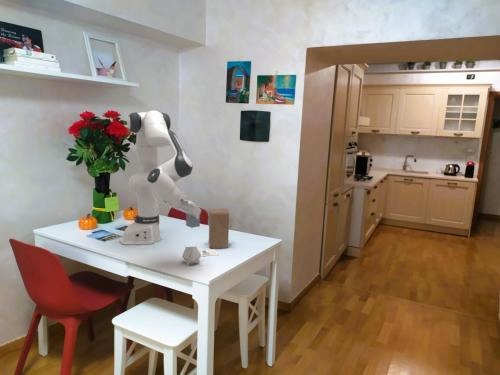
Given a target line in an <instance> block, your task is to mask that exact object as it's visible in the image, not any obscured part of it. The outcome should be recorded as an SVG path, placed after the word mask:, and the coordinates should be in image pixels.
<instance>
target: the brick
mask: <svg viewBox="0 0 500 375" xmlns="http://www.w3.org/2000/svg"><path fill="white" fill-rule="evenodd" d="M200 222H201V214H200V215H199V218H198V219H196V218H195V217H193V215H190V214H187V213H185V225H186V226H187V227H189V228H191V229H192V228H199V227H200V226H201V223H200Z"/></svg>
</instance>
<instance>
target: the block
mask: <svg viewBox="0 0 500 375" xmlns="http://www.w3.org/2000/svg"><path fill="white" fill-rule="evenodd" d="M208 214H209V215H208V216H209V218H208V219H209V222H208V227H209V228H208V244H209V248H210V249H227V248H229V230H230V228H229V227H230V213H229V211H228V209H227V208H210V209H209V212H208Z"/></svg>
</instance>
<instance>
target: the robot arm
mask: <svg viewBox="0 0 500 375" xmlns="http://www.w3.org/2000/svg"><path fill="white" fill-rule="evenodd" d="M126 125H127V128H128V131H130V133H134V134H136V139H135V143H136V144H135V145H136V146H135V147H136V160H137V162H138V163H139V164H140V166H141V168H142V171H140V172H136V173H134V174H132V175H130V177H129V179H128V183H127V184H128V188H129V190H130V191H132V192H133V193H134V196H135V198H136V201H137V215H136V214H133V215H132V218H133V219H134V220H133V222H132V223H131V224H130V225H129V226H127V227H126V228H125V230H124V232H123V235H122V236H120V238H119V242H120V244H122V245H124V246H127V245H128V246H129V245H132V246H133V245H136V246H137V245H152V244H154V243H157V242H160V241H161V240H162V235H161V232H160V214H159V201H158V199H157V198H155V195H154V192H155V193H156V194H157V195H158V196H160V197H162V201H163V202H164V203H166V204H168V206H169V207H171V208H172V209H175V210H177V211H179V212H183V213H185V214H186V213H187V214H190V215H193V217H195V218H196V219H198V218H199V215H200V216H201V213H202V209H201V208H200V207H199V206H197V204H196V203H195V202H193V201H191V200H189V199H187V194H186V192H185V191H184V190H183V189H182V188H181V187H180V186H179V185H177V184H176V182H178V181H179V180H181V179H183V178H186V177H187V176H190V175H191V174H192V171H193V168H194V166H193V163H192V160H191V159H190V158H189V157H188V155H187V153H186V151H185V148H184V147H183V145H182V143H181V140H180V139H179V138H178V136H177V135H176V133H175V132H174V131H173V130H172V129H171V125H172V121H171V117H170V115H169V114H168V113H164V112H160V111H158V110H150V111H149V110H148V111H145V112H143V111H142V112H141V111H140V112H131V113H130V114H128V116H127V119H126ZM170 129H171V130H170ZM165 147H171V150H172V152H173V153H174V156H173V157H172V158H171V159H169V160H167V161H165V162H164V163H162V164H160V163H159V158H158V157H159V156H158V153H159V152H158V148H165Z"/></svg>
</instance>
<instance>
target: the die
mask: <svg viewBox="0 0 500 375" xmlns="http://www.w3.org/2000/svg"><path fill="white" fill-rule="evenodd" d="M199 251H200V250H199V248H198V247H197V246H196V245H195V246H186V247H185V248H184V251H183V253H182V256H181V257H182V259H183V261H184V262H185V264H186V265H194V264H195V265H197V264H198V263H199V261H200V259H201V257H200V256H201V253H200V252H199ZM196 263H197V264H196Z"/></svg>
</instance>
